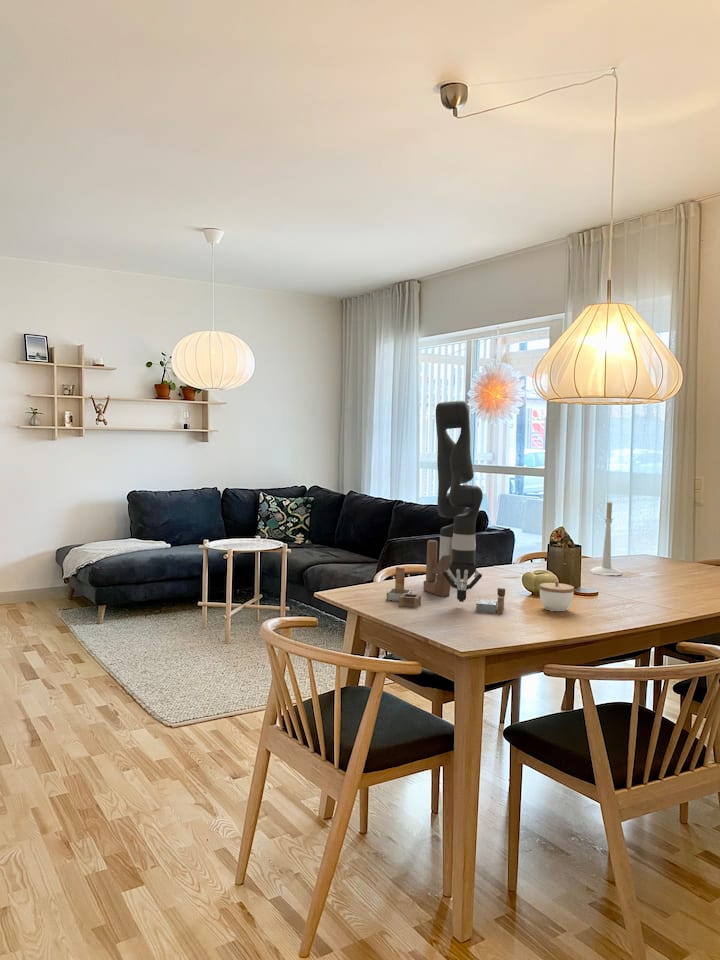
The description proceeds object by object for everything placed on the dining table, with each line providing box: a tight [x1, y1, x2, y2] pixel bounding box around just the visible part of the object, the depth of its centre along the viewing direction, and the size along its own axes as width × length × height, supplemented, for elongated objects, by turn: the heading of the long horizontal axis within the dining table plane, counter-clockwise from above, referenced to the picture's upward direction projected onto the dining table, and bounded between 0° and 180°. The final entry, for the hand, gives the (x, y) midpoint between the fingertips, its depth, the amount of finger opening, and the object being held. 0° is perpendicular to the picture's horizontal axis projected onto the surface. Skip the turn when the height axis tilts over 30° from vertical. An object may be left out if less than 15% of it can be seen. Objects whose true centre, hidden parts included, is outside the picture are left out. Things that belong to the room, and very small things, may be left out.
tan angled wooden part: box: [422, 539, 451, 597], centre depth 259 cm, size 4×11×18 cm, turn 31°
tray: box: [385, 587, 413, 602], centre depth 249 cm, size 8×7×2 cm
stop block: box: [496, 587, 506, 615], centre depth 236 cm, size 9×2×7 cm, turn 166°
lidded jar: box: [539, 580, 575, 612], centre depth 240 cm, size 11×11×9 cm
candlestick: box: [589, 501, 622, 573], centre depth 309 cm, size 13×13×30 cm
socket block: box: [398, 593, 422, 608], centre depth 240 cm, size 6×6×3 cm
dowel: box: [394, 566, 406, 594], centre depth 248 cm, size 3×3×10 cm
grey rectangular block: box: [475, 598, 498, 614], centre depth 236 cm, size 7×6×3 cm
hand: (461, 601), depth 239 cm, fingers closed
